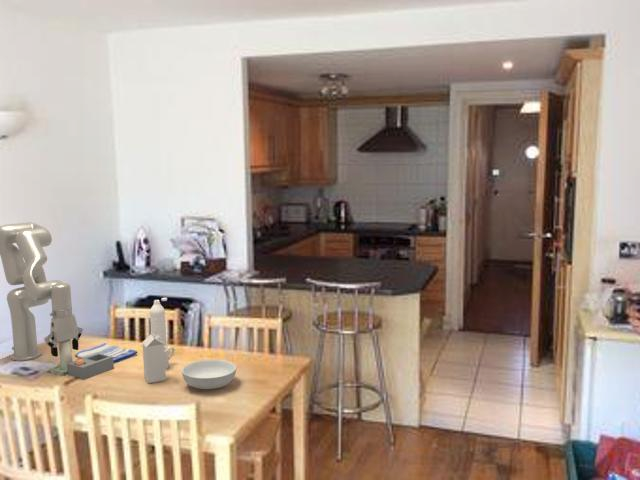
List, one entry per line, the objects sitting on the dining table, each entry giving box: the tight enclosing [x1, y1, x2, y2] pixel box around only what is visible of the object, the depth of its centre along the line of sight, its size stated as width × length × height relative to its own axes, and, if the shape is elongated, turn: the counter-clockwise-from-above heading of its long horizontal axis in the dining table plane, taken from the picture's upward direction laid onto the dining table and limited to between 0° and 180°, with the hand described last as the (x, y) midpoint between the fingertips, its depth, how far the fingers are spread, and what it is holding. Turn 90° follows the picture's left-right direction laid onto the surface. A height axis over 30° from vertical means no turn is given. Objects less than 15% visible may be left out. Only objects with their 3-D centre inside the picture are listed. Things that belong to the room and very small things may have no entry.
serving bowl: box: [181, 359, 237, 390], centre depth 234 cm, size 21×21×7 cm
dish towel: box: [74, 342, 138, 364], centre depth 270 cm, size 17×24×3 cm
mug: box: [164, 345, 175, 371], centre depth 254 cm, size 13×10×8 cm
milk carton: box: [142, 331, 167, 384], centre depth 240 cm, size 7×7×19 cm
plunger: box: [75, 358, 84, 366], centre depth 246 cm, size 3×3×4 cm
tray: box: [49, 364, 69, 377], centre depth 252 cm, size 9×9×2 cm
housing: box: [67, 353, 115, 380], centre depth 250 cm, size 10×15×5 cm, turn 148°
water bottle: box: [149, 297, 168, 347], centre depth 271 cm, size 9×6×25 cm
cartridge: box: [57, 339, 73, 370], centre depth 251 cm, size 5×5×13 cm
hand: (65, 352), depth 251 cm, fingers open, 9 cm apart
